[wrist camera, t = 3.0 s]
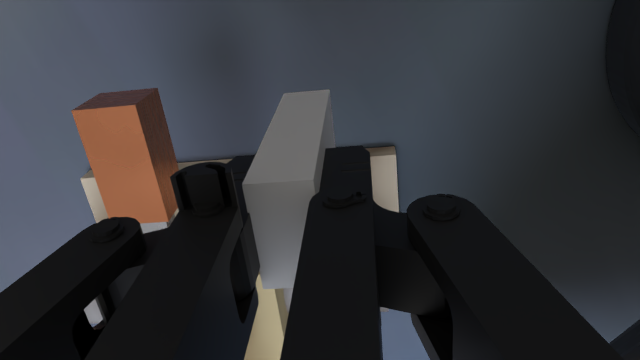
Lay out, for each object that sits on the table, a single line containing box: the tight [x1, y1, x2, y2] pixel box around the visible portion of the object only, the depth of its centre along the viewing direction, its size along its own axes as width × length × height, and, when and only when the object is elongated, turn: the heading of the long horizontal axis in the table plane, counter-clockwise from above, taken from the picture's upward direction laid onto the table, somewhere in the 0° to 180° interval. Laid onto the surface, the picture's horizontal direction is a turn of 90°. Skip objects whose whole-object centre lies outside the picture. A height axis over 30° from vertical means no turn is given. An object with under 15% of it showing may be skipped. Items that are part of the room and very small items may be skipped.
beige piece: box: [81, 146, 399, 360], centre depth 26 cm, size 18×10×10 cm, turn 96°
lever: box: [72, 88, 179, 233], centre depth 18 cm, size 14×3×2 cm, turn 6°
